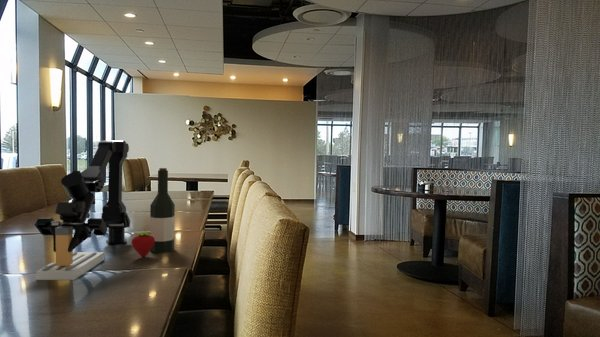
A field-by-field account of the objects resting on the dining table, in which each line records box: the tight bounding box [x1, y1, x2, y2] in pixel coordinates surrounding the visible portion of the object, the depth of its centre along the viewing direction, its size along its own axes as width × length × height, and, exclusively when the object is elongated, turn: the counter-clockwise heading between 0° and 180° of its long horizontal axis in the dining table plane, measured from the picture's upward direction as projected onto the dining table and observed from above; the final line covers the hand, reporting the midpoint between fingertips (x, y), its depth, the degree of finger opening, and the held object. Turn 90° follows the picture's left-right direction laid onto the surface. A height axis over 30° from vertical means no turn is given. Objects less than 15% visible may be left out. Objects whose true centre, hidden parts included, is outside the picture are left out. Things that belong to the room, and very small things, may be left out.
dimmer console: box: [36, 251, 105, 281], centre depth 119 cm, size 20×10×3 cm, turn 5°
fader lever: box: [55, 226, 74, 266], centre depth 114 cm, size 3×4×11 cm
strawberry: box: [130, 228, 155, 258], centre depth 134 cm, size 6×8×10 cm
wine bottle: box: [149, 167, 176, 254], centre depth 143 cm, size 8×8×30 cm
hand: (61, 251), depth 112 cm, fingers closed on fader lever, 3 cm apart
